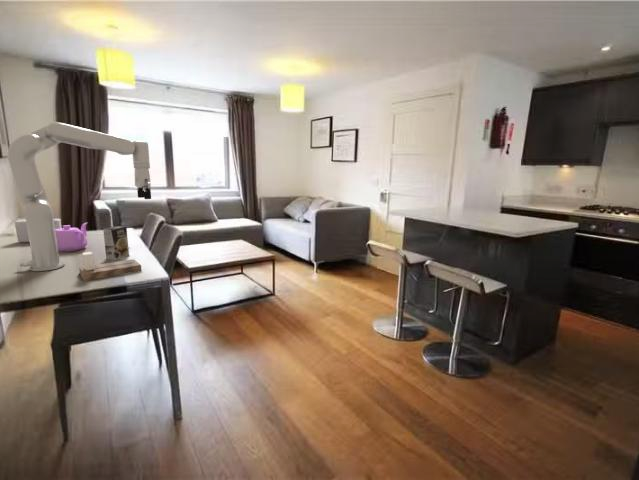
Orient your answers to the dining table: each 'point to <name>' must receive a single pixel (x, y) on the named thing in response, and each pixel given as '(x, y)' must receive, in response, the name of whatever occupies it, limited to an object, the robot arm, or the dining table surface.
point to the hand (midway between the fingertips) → (144, 198)
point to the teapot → (71, 238)
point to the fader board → (110, 269)
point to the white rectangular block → (88, 261)
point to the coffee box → (116, 242)
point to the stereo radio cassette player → (23, 232)
